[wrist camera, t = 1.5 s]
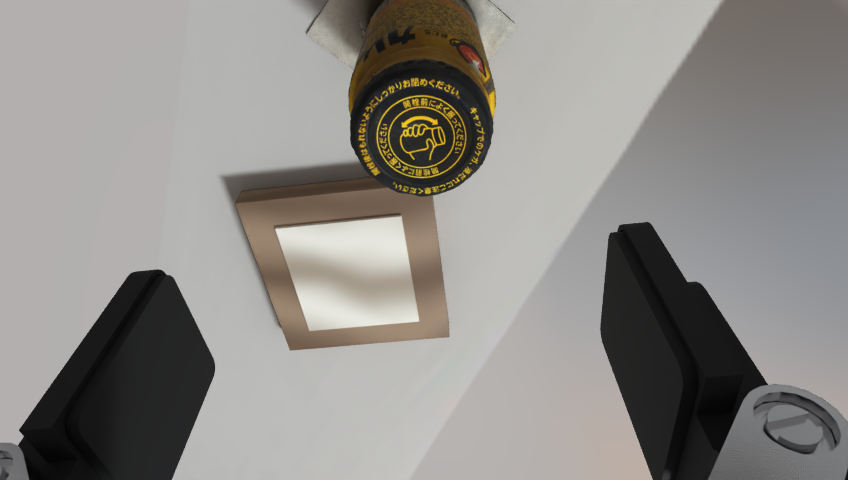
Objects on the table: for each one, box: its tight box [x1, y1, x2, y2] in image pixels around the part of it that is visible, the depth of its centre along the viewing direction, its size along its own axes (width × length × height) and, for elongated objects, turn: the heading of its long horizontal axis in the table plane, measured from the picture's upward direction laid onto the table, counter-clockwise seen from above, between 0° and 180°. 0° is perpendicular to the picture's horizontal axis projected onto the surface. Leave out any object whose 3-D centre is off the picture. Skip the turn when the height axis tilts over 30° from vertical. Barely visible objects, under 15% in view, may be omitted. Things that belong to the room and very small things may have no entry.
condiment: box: [307, 0, 517, 197], centre depth 24 cm, size 7×8×12 cm
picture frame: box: [235, 177, 449, 350], centre depth 37 cm, size 13×12×2 cm
